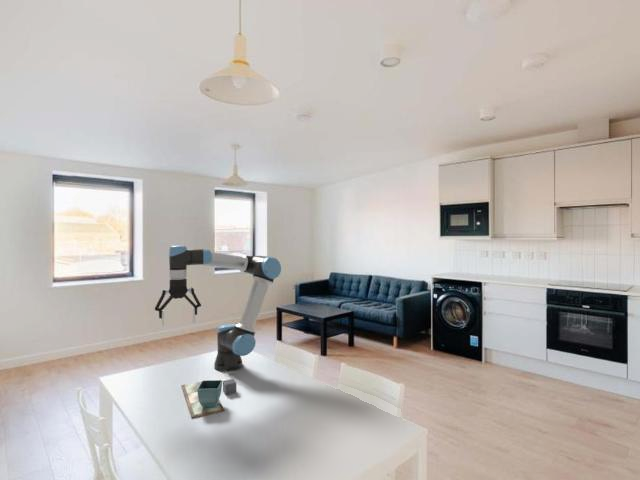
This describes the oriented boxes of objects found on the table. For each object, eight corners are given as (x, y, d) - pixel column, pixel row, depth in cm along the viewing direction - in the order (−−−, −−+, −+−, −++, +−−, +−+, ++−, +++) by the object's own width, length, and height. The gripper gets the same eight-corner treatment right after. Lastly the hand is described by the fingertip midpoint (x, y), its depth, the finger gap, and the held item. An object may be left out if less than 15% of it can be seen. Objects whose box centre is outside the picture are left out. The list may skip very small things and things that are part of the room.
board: (209, 381, 181) (209, 379, 181) (224, 411, 151) (224, 408, 151) (181, 386, 175) (181, 384, 175) (191, 418, 145) (191, 416, 145)
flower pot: (218, 409, 150) (218, 388, 150) (196, 410, 149) (196, 389, 149) (222, 400, 159) (222, 379, 159) (202, 400, 158) (202, 380, 158)
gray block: (233, 389, 172) (233, 378, 172) (236, 393, 168) (236, 382, 168) (222, 391, 170) (222, 380, 170) (225, 395, 165) (225, 384, 165)
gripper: (204, 276, 179) (204, 318, 179) (148, 279, 167) (148, 324, 168) (206, 277, 172) (207, 322, 173) (149, 281, 161) (149, 328, 161)
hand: (178, 323), depth 170 cm, fingers open, 13 cm apart
